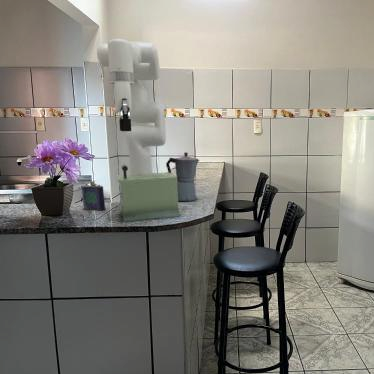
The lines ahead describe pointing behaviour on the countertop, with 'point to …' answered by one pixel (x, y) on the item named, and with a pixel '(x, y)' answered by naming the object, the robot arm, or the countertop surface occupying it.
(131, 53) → the robot arm
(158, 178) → the breadbox lid
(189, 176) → the moka pot
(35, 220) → the countertop surface
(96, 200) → the flask
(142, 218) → the box
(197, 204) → the countertop surface
